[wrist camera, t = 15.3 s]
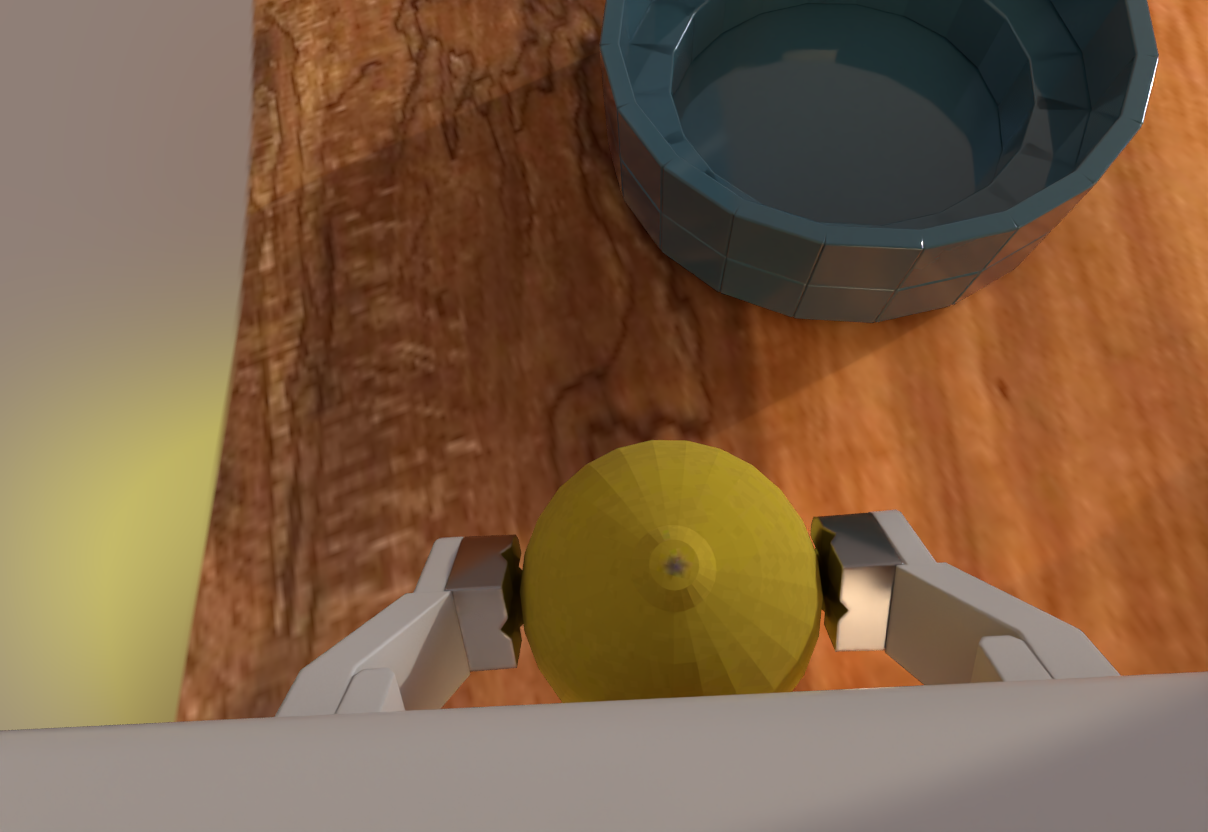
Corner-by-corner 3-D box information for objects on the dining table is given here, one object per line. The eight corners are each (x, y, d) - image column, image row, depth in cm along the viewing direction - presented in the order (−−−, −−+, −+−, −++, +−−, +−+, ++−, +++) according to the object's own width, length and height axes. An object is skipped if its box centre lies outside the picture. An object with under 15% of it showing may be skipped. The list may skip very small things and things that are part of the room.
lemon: (571, 745, 16) (496, 832, 8) (540, 514, 17) (456, 409, 10) (803, 704, 16) (945, 753, 8) (747, 477, 17) (820, 345, 10)
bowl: (784, -80, 27) (809, -216, 23) (1147, 104, 23) (1260, -21, 18) (523, 161, 24) (495, 55, 20) (888, 424, 20) (952, 362, 15)
